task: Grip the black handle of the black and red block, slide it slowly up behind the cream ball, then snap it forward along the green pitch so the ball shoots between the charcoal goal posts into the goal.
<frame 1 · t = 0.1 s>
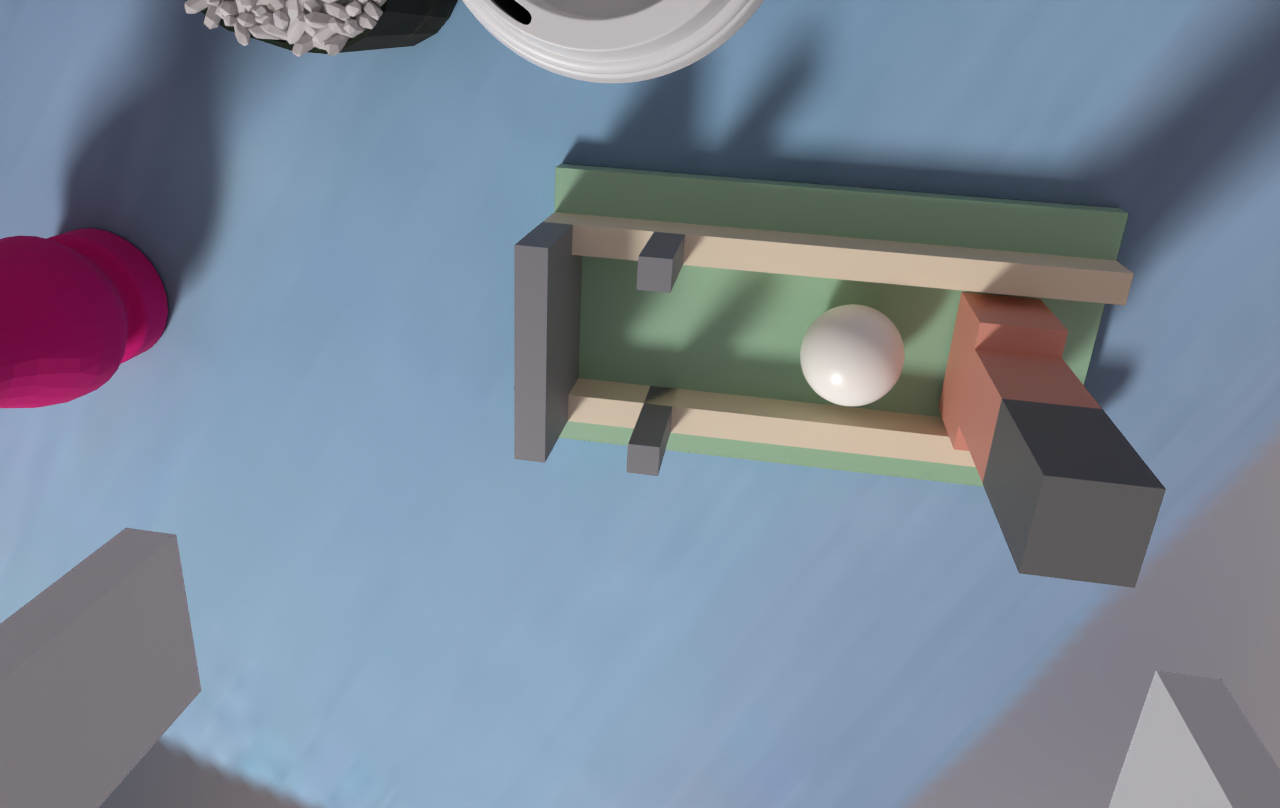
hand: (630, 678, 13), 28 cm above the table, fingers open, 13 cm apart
pepper mill: (110, 291, 44), on the table
black and red block: (1028, 425, 31), point 8 cm above the table, slide at 0.0 cm
ball: (851, 355, 36), point 3 cm above the table, touching pitch
pitch: (811, 328, 39), on the table
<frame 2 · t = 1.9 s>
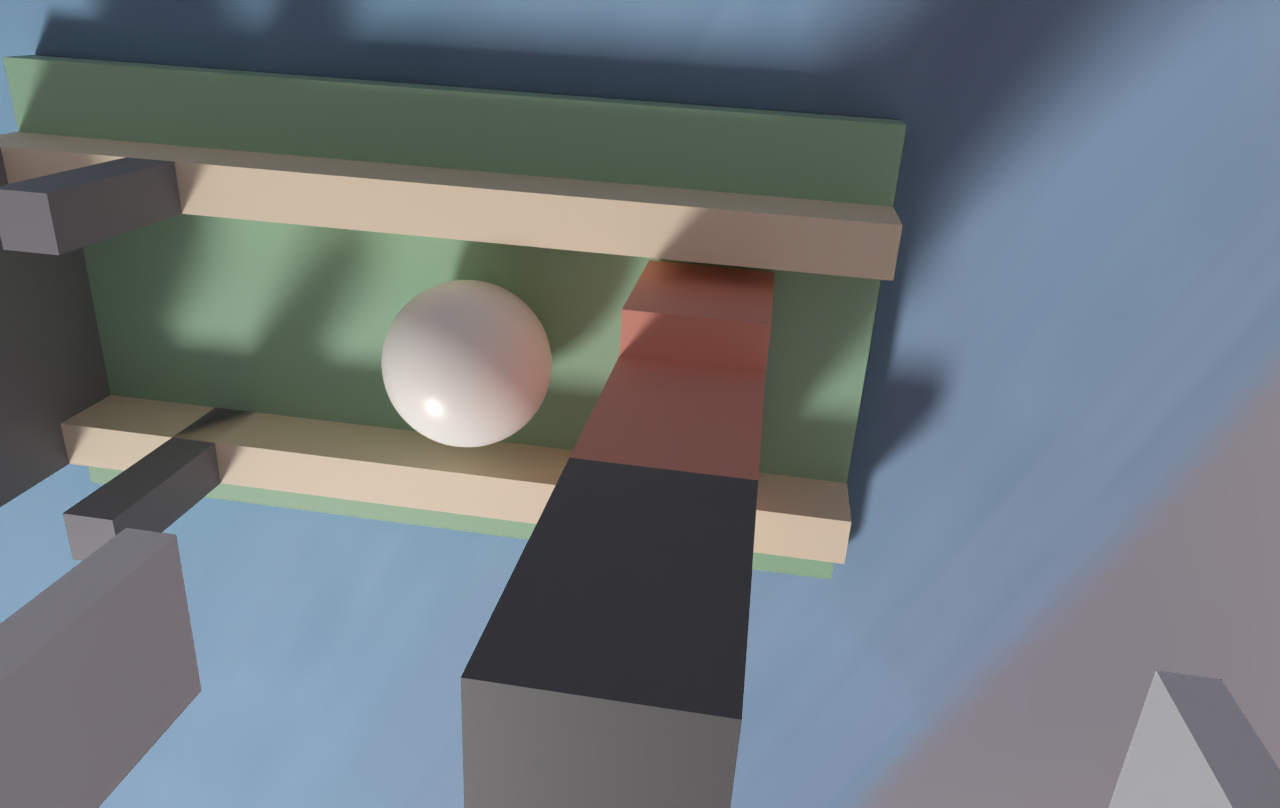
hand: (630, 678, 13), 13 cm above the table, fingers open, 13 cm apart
black and red block: (669, 499, 17), point 8 cm above the table, slide at 0.0 cm
ball: (468, 363, 22), point 3 cm above the table, touching pitch
pitch: (449, 319, 25), on the table
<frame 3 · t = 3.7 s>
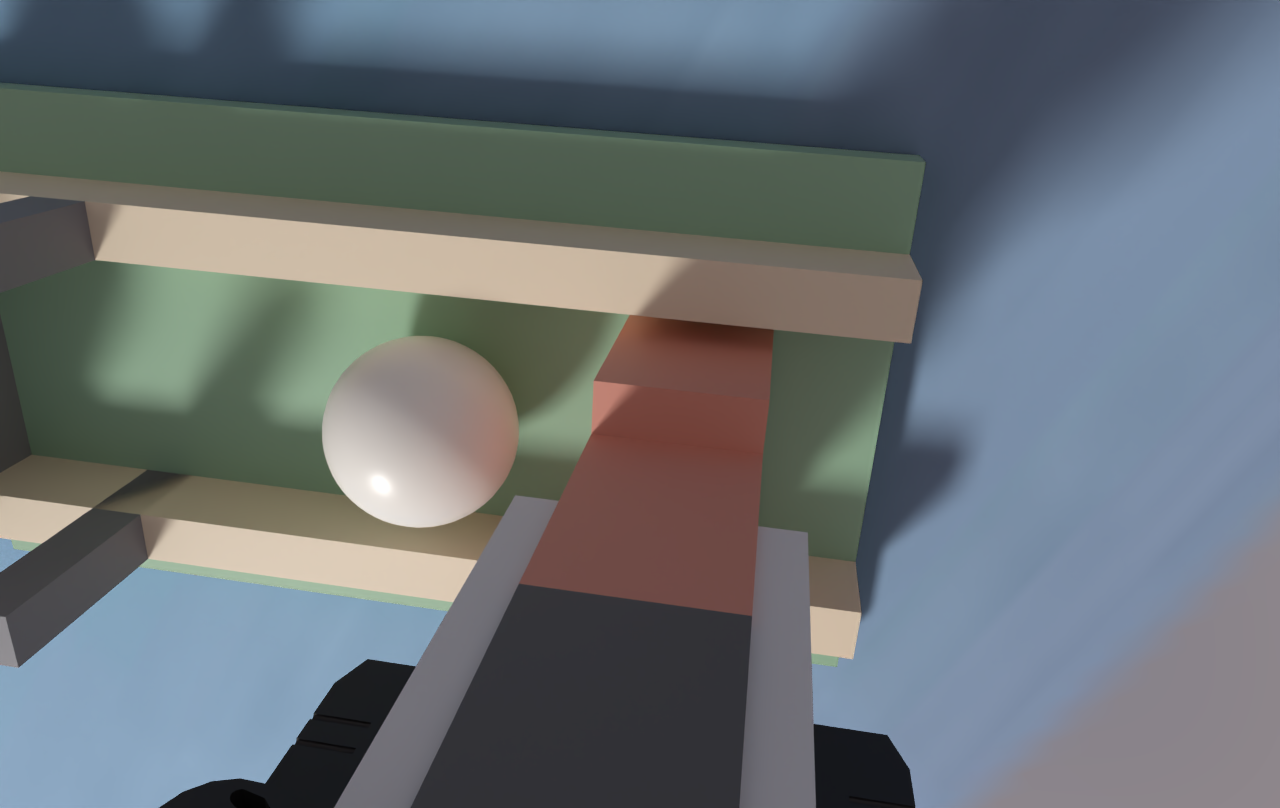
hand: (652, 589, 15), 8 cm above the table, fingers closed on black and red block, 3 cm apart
black and red block: (645, 617, 14), point 8 cm above the table, slide at 0.0 cm, touching gripper
ball: (422, 431, 19), point 3 cm above the table, touching pitch
pitch: (408, 373, 22), on the table
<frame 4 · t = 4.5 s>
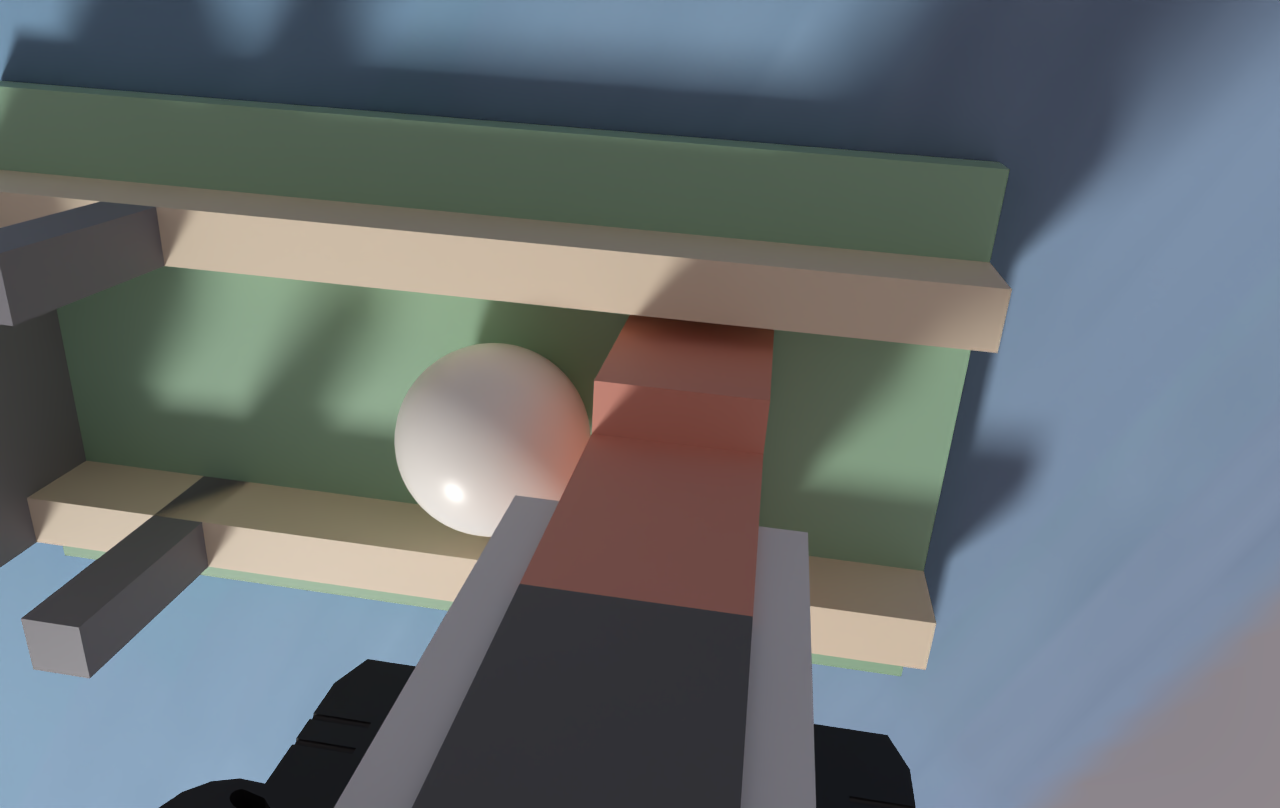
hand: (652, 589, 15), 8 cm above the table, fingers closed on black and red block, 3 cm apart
black and red block: (646, 618, 14), point 8 cm above the table, slide at 1.5 cm, touching gripper
ball: (494, 439, 19), point 3 cm above the table, touching pitch
pitch: (470, 379, 22), on the table
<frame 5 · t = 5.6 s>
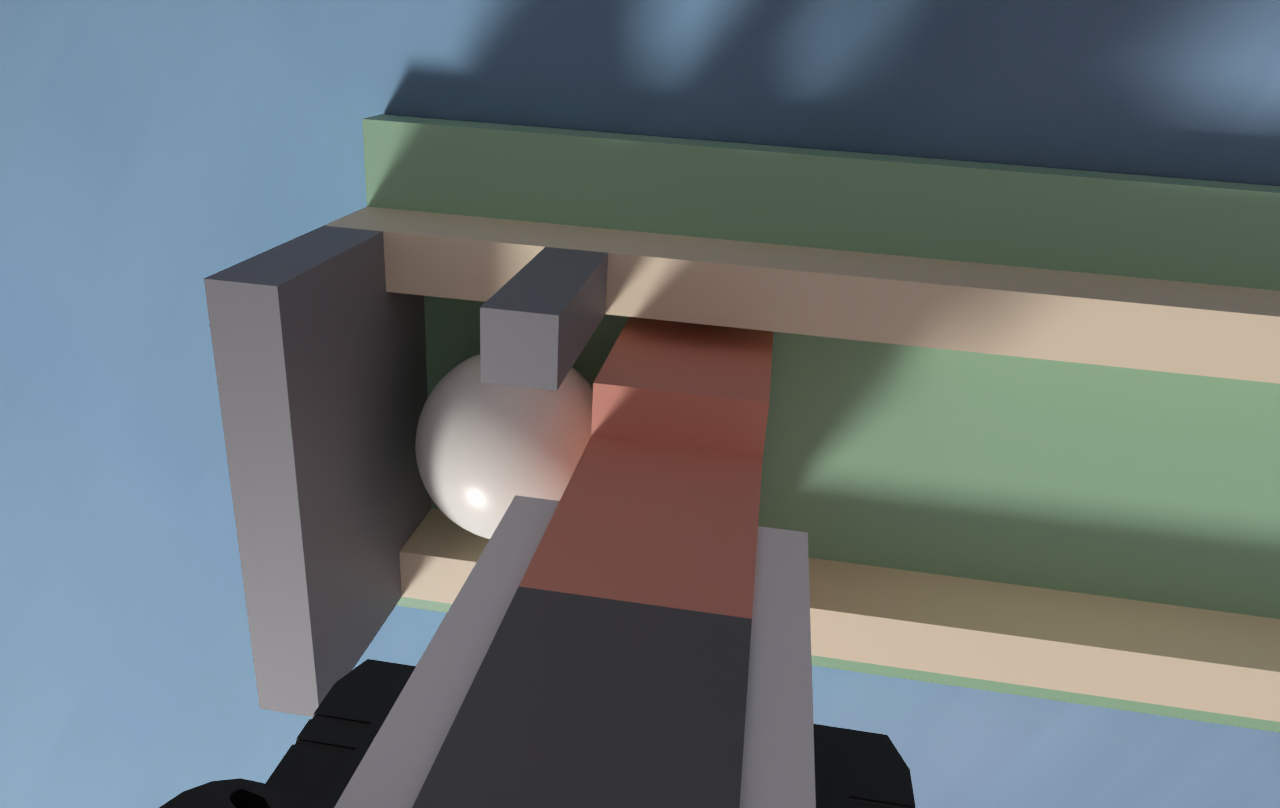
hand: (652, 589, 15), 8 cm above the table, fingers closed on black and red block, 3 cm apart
black and red block: (645, 620, 14), point 8 cm above the table, slide at 10.7 cm, touching gripper
ball: (514, 444, 19), point 3 cm above the table, tilted 118°, touching pitch
pitch: (857, 425, 21), on the table
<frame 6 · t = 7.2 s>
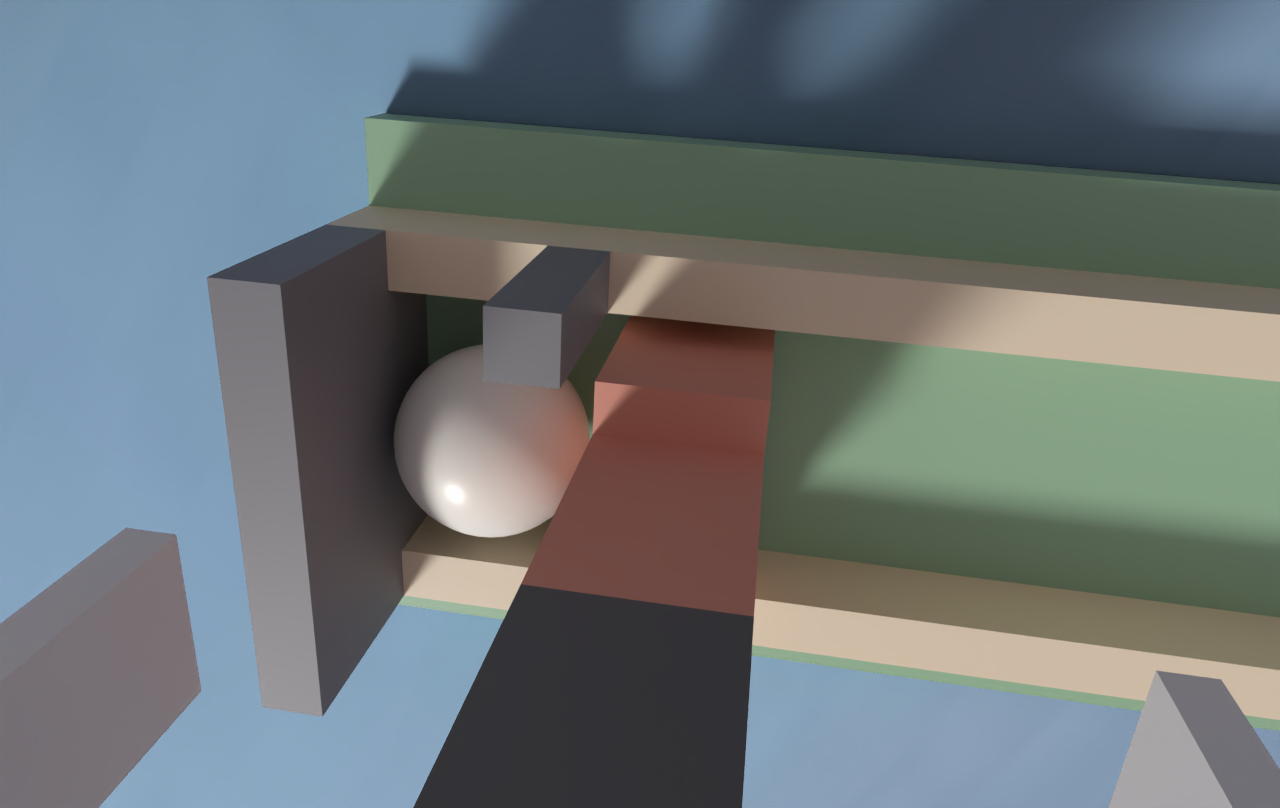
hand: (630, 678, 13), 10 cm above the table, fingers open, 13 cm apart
black and red block: (647, 618, 14), point 8 cm above the table, slide at 10.7 cm
ball: (493, 440, 19), point 3 cm above the table, tilted 103°, touching pitch
pitch: (859, 424, 21), on the table
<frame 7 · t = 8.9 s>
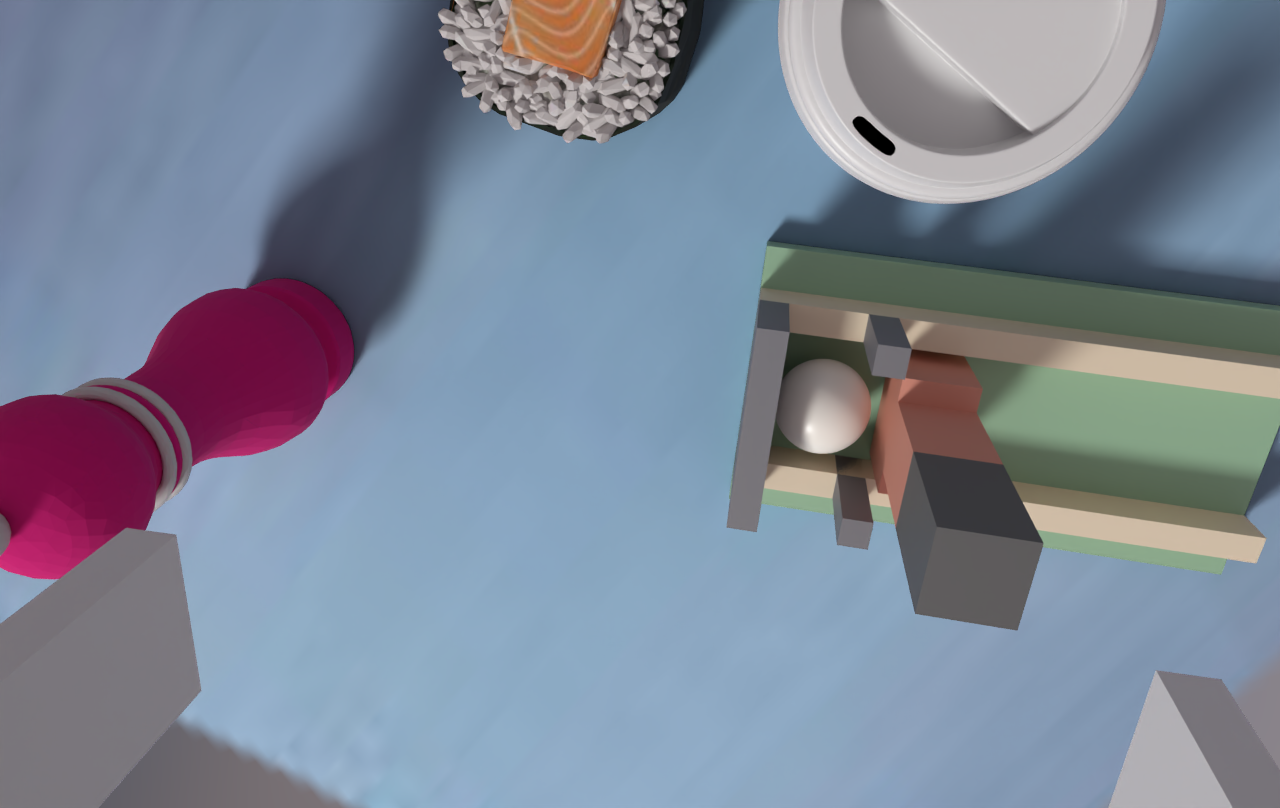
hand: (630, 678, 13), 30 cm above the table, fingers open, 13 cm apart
pepper mill: (296, 339, 45), on the table
black and red block: (940, 475, 33), point 8 cm above the table, slide at 10.7 cm
ball: (822, 406, 39), point 3 cm above the table, tilted 101°, touching pitch
pitch: (995, 406, 41), on the table
coffee cup: (904, 24, 36), on the table
sushi: (600, 21, 38), on the table
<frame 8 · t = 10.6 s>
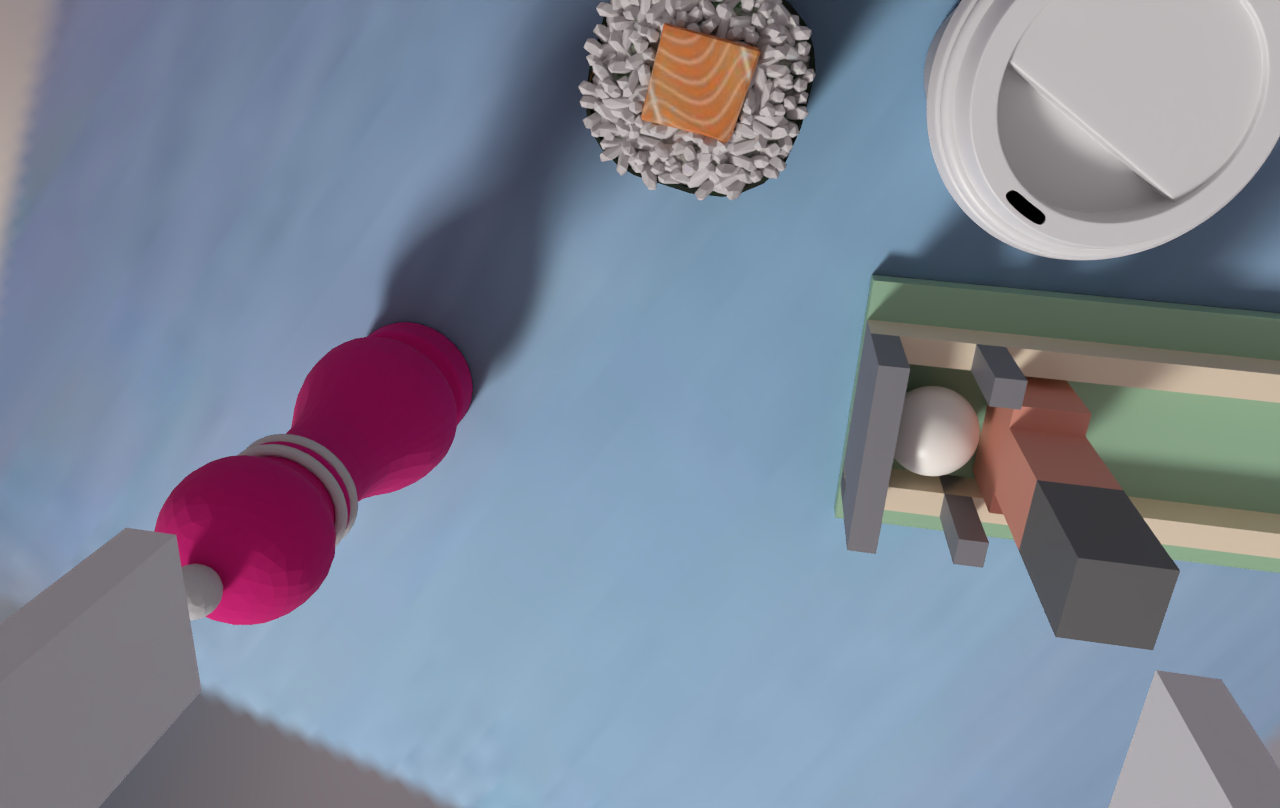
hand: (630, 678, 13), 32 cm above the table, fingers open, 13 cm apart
pepper mill: (416, 378, 47), on the table
black and red block: (1057, 499, 36), point 8 cm above the table, slide at 10.7 cm
ball: (931, 430, 41), point 3 cm above the table, tilted 103°, touching pitch
pitch: (1093, 423, 43), on the table
coffee cup: (1005, 68, 38), on the table
sushi: (711, 73, 40), on the table
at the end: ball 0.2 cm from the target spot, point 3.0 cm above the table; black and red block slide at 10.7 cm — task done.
